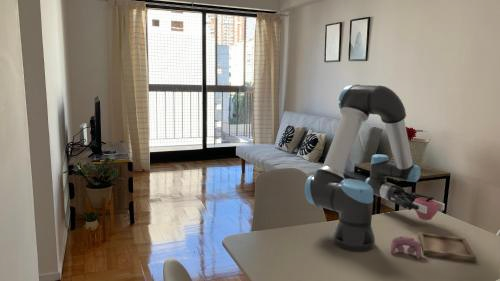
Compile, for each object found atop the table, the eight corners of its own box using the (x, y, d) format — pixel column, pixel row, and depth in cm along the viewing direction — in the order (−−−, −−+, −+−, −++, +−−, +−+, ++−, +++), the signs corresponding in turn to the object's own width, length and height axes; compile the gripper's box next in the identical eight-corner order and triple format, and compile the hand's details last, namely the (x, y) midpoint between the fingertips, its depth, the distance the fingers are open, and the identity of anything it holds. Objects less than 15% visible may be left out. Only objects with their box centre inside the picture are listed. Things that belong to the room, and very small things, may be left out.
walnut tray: (423, 255, 133) (424, 250, 133) (418, 237, 148) (419, 232, 148) (475, 262, 128) (475, 257, 128) (464, 243, 143) (465, 238, 143)
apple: (434, 216, 160) (436, 194, 159) (439, 224, 152) (442, 200, 150) (410, 214, 162) (412, 192, 161) (414, 221, 154) (416, 198, 152)
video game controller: (420, 260, 133) (421, 239, 135) (420, 259, 129) (422, 238, 131) (390, 254, 137) (392, 234, 139) (389, 253, 133) (391, 233, 135)
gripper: (409, 198, 177) (452, 214, 157) (373, 203, 168) (414, 221, 148) (411, 182, 176) (454, 196, 156) (374, 187, 167) (416, 203, 147)
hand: (435, 208), depth 152 cm, fingers closed on apple, 9 cm apart
